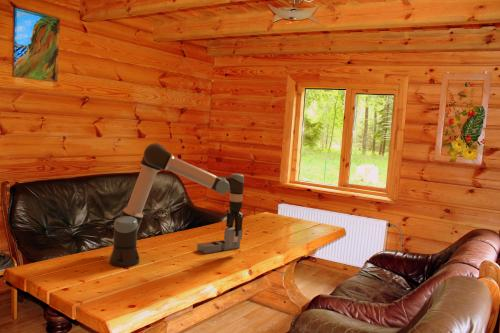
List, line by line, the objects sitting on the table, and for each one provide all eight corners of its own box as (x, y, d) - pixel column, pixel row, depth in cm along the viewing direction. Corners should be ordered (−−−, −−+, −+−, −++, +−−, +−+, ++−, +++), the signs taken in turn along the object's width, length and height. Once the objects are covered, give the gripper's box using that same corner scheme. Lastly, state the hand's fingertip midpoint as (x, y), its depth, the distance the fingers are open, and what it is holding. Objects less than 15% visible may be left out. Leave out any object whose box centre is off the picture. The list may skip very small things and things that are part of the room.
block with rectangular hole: (204, 254, 250) (204, 247, 250) (196, 250, 256) (197, 243, 256) (239, 248, 267) (240, 241, 266) (231, 244, 273) (232, 238, 273)
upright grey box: (227, 247, 245) (228, 229, 245) (223, 245, 249) (224, 228, 248) (241, 245, 252) (242, 228, 251) (237, 243, 255) (238, 226, 254)
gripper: (250, 203, 244) (247, 243, 246) (232, 198, 257) (229, 236, 259) (240, 203, 239) (236, 245, 241) (221, 198, 252) (218, 237, 254)
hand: (232, 240), depth 250 cm, fingers closed on upright grey box, 4 cm apart
